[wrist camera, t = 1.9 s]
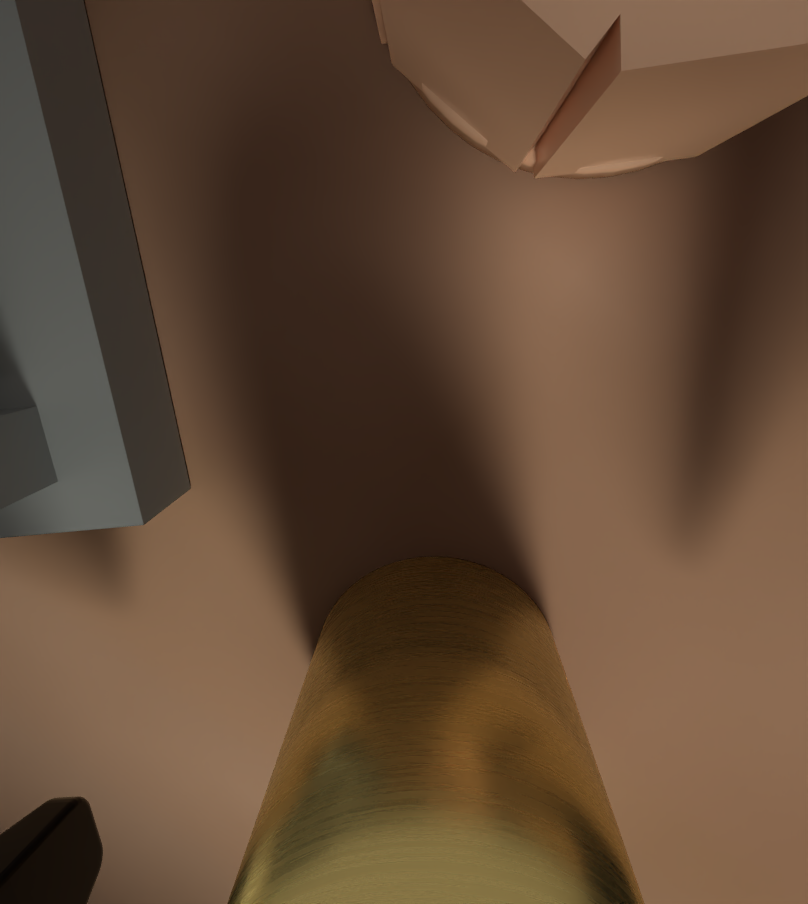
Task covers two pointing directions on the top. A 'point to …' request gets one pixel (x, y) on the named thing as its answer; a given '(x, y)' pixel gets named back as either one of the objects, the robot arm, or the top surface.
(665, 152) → the cup
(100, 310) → the grey holder
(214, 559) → the top surface
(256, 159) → the top surface
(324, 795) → the cell
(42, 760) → the top surface
